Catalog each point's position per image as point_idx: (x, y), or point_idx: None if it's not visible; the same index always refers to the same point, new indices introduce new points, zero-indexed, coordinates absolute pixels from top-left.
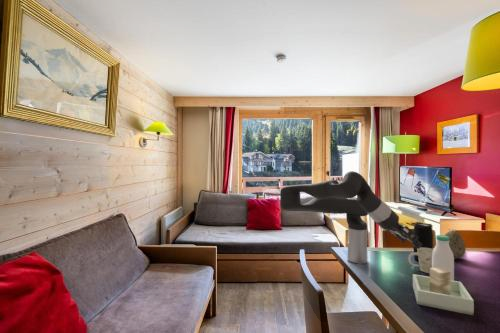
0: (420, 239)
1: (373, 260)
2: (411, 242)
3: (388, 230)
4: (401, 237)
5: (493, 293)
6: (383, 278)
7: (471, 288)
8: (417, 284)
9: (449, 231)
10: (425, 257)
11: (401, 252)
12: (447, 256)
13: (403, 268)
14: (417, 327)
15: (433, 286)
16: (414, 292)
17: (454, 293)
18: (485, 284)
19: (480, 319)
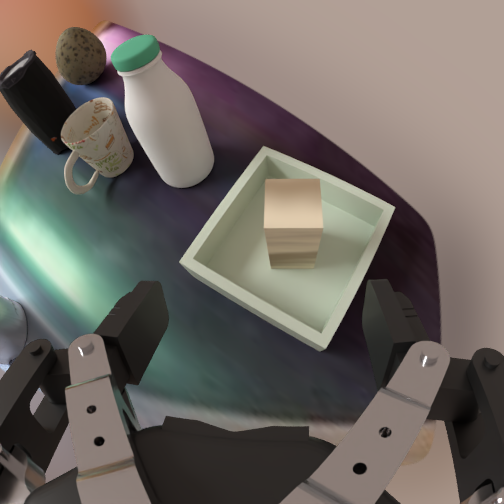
0: (38, 106)
1: (19, 275)
2: (385, 386)
3: (54, 427)
4: (148, 335)
5: (266, 101)
6: None
7: (235, 124)
8: (274, 312)
9: (61, 36)
10: (102, 144)
11: (20, 163)
12: (186, 100)
13: (81, 218)
14: (431, 426)
15: (289, 256)
16: (240, 305)
17: None
18: (221, 87)
19: (399, 226)
